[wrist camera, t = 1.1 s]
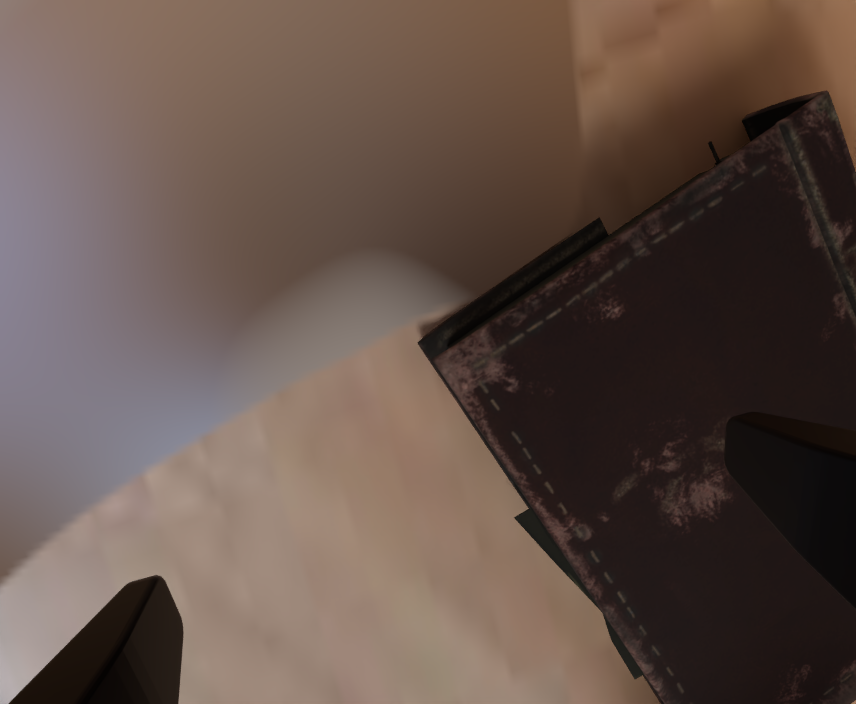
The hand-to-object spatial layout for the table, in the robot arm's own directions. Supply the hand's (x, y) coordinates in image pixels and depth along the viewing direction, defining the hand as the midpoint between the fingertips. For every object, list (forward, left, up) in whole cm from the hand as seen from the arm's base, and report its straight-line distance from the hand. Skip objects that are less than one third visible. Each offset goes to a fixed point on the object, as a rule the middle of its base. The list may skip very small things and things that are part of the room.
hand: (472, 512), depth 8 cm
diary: (-11, -12, -15) cm, 22 cm away
